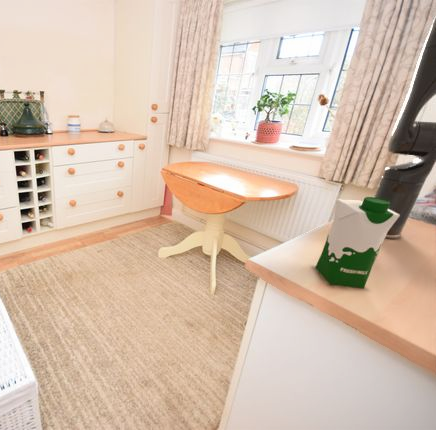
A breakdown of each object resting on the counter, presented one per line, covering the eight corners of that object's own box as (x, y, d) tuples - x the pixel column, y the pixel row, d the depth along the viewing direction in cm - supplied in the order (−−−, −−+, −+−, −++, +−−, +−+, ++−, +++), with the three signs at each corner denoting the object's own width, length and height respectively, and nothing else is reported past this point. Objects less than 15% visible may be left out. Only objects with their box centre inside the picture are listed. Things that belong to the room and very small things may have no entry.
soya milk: (327, 287, 64) (360, 202, 56) (308, 265, 72) (335, 188, 65) (371, 291, 63) (411, 206, 55) (347, 268, 71) (378, 191, 63)
